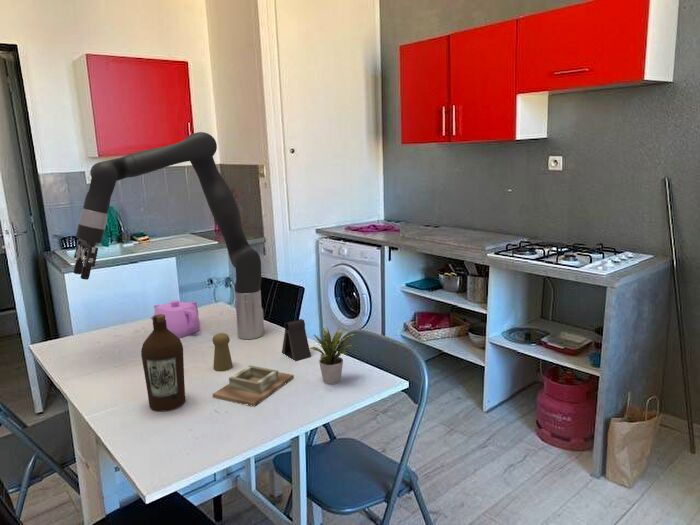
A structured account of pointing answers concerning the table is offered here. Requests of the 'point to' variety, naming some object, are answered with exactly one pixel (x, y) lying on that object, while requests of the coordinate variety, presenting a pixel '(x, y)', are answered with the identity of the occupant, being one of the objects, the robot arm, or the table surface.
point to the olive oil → (163, 367)
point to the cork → (222, 352)
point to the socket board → (252, 385)
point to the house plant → (331, 356)
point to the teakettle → (180, 317)
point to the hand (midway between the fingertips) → (80, 276)
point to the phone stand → (295, 340)
